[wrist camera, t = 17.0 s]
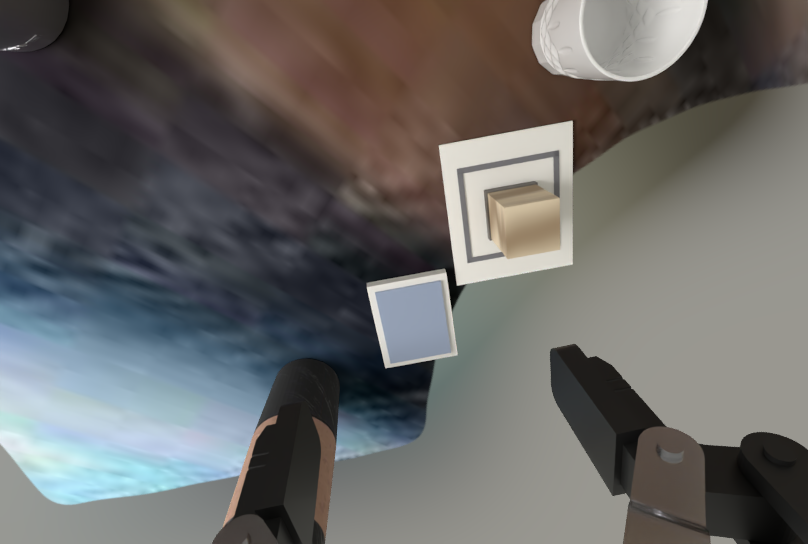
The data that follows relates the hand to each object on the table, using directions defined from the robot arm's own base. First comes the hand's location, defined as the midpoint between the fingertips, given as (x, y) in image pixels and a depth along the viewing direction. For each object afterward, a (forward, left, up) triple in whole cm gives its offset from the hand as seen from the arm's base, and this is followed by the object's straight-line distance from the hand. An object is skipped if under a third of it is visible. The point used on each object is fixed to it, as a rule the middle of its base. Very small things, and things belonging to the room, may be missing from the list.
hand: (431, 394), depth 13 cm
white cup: (-11, +17, -28) cm, 34 cm away
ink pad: (+13, 0, -27) cm, 30 cm away
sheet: (+3, +11, -27) cm, 30 cm away
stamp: (+3, +11, -27) cm, 29 cm away
